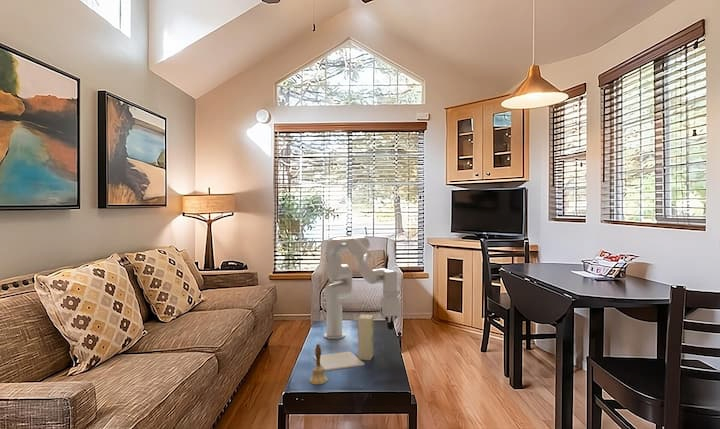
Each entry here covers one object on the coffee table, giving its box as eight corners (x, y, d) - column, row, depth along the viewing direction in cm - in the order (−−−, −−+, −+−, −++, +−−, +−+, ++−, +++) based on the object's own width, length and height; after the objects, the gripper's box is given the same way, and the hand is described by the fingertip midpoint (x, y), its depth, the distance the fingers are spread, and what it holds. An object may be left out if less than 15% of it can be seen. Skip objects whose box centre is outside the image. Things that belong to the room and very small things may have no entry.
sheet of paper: (313, 357, 220) (313, 356, 220) (349, 352, 227) (349, 351, 227) (324, 371, 201) (324, 369, 201) (364, 365, 208) (364, 363, 208)
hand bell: (306, 383, 187) (306, 346, 186) (313, 376, 195) (313, 341, 194) (324, 385, 184) (324, 348, 184) (330, 378, 192) (330, 342, 192)
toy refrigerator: (372, 360, 215) (372, 318, 215) (357, 359, 216) (357, 318, 216) (374, 355, 223) (374, 315, 223) (360, 354, 224) (360, 314, 224)
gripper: (399, 291, 231) (399, 325, 231) (374, 293, 225) (374, 328, 225) (406, 294, 224) (406, 329, 224) (380, 296, 218) (380, 332, 218)
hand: (390, 329), depth 225 cm, fingers closed
